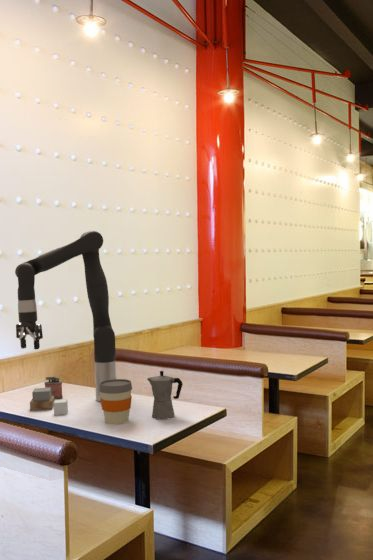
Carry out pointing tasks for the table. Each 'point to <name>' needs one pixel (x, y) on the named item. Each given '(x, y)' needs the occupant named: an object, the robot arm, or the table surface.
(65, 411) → the top block
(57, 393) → the lighter
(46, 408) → the walnut block
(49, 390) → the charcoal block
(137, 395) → the table surface
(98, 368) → the robot arm
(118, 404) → the reusable coffee cup
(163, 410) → the coffeepot
